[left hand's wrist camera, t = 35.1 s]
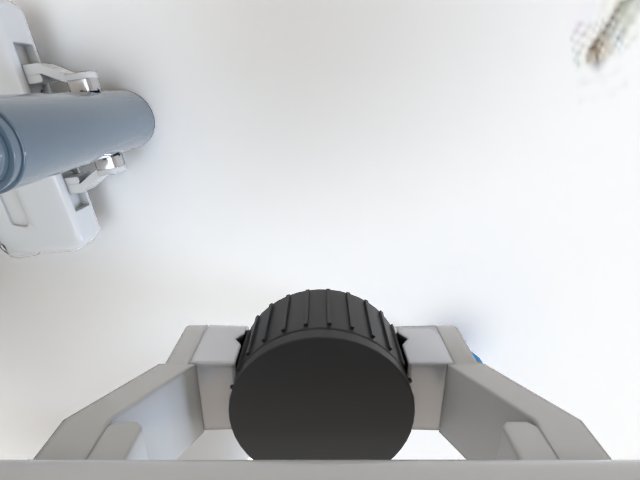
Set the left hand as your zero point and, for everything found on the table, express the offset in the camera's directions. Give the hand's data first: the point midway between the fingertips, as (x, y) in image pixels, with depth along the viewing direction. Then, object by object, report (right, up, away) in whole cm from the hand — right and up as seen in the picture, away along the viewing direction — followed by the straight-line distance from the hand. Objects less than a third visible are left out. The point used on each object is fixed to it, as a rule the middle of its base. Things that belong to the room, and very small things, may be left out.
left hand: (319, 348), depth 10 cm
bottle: (-18, +14, +28) cm, 37 cm away
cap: (0, -1, -2) cm, 2 cm away
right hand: (-17, +12, +23) cm, 32 cm away
